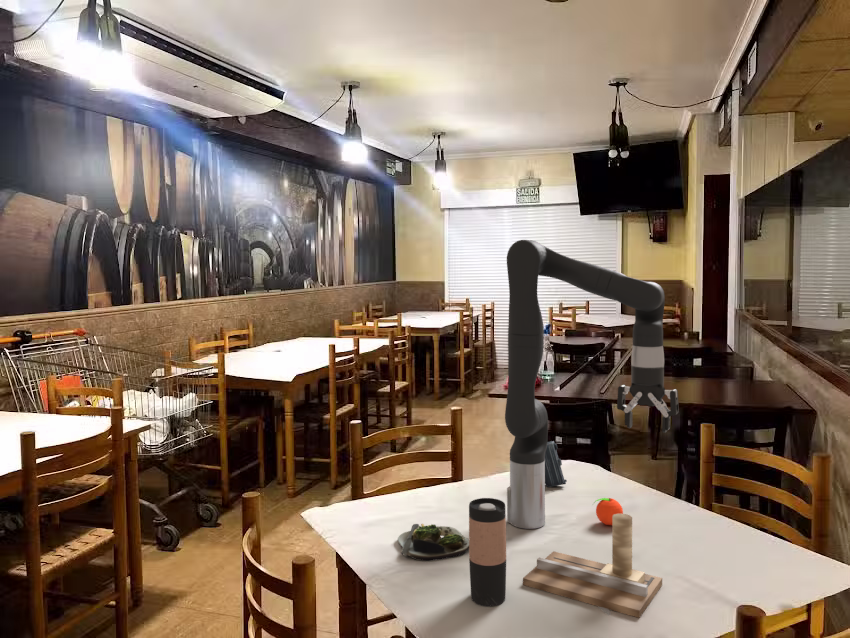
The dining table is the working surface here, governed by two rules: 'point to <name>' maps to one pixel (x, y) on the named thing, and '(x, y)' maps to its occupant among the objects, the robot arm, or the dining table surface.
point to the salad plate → (433, 542)
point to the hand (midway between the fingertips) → (647, 429)
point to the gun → (553, 466)
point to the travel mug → (487, 551)
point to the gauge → (622, 551)
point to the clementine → (607, 510)
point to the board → (591, 584)
